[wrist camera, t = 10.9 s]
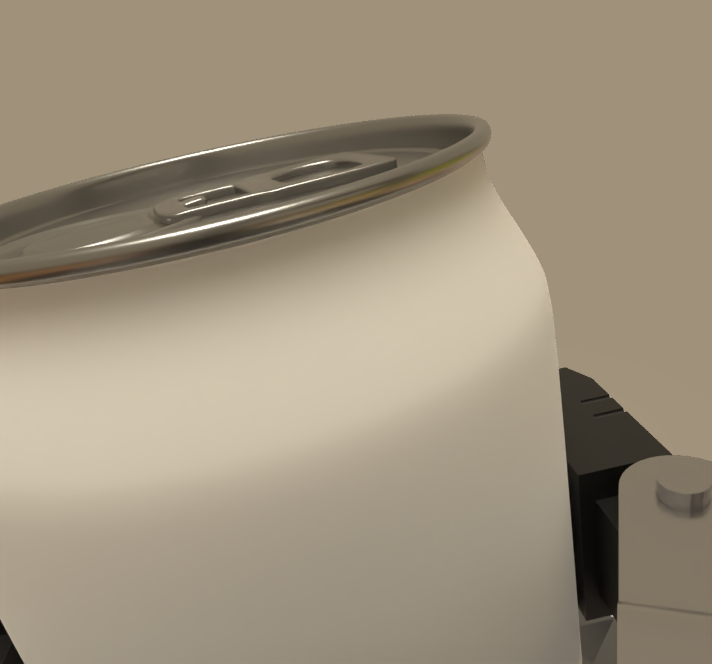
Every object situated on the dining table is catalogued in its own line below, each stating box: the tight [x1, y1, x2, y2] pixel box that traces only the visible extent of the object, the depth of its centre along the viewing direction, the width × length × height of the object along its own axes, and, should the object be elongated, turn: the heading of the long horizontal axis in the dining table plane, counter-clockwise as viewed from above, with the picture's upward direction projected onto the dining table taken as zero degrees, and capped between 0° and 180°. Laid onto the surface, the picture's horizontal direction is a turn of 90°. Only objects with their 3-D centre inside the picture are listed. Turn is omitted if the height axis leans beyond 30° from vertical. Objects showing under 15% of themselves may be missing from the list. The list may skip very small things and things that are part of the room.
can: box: [0, 114, 582, 664], centre depth 9 cm, size 6×6×12 cm
